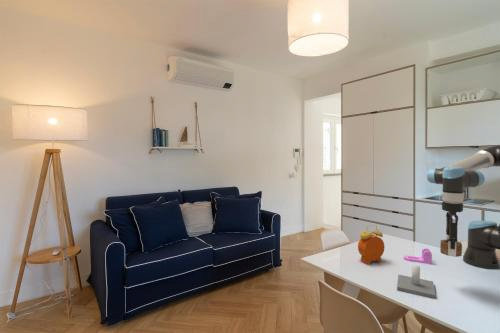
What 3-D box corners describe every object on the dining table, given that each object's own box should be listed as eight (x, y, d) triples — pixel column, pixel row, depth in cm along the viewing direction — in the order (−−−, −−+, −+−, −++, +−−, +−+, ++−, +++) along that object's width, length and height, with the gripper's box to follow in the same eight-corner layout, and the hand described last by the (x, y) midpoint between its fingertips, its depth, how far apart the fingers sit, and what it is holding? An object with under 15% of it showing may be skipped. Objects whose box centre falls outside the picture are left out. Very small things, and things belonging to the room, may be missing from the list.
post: (433, 284, 125) (433, 264, 125) (435, 298, 113) (436, 276, 113) (398, 277, 132) (398, 258, 132) (397, 290, 120) (397, 268, 120)
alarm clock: (376, 257, 157) (377, 223, 156) (384, 261, 151) (385, 225, 150) (357, 260, 153) (357, 225, 152) (364, 264, 147) (365, 228, 146)
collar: (459, 252, 124) (460, 241, 123) (462, 257, 117) (462, 246, 117) (439, 249, 127) (440, 238, 127) (441, 254, 121) (441, 243, 121)
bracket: (429, 260, 153) (430, 248, 153) (431, 264, 148) (432, 251, 148) (403, 257, 158) (403, 245, 158) (404, 260, 153) (404, 248, 153)
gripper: (440, 197, 132) (438, 244, 133) (444, 205, 114) (442, 259, 115) (459, 198, 128) (457, 247, 129) (467, 206, 110) (465, 262, 112)
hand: (450, 252), depth 122 cm, fingers closed on collar, 7 cm apart
